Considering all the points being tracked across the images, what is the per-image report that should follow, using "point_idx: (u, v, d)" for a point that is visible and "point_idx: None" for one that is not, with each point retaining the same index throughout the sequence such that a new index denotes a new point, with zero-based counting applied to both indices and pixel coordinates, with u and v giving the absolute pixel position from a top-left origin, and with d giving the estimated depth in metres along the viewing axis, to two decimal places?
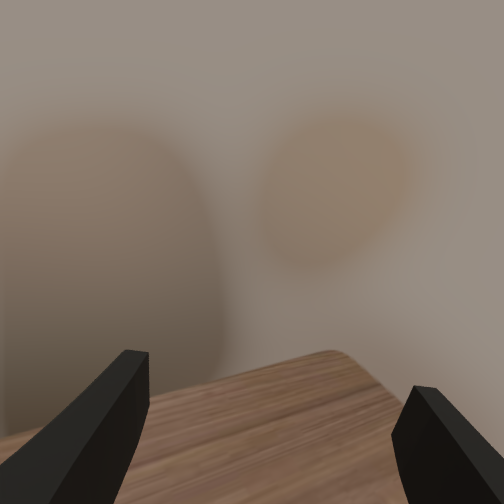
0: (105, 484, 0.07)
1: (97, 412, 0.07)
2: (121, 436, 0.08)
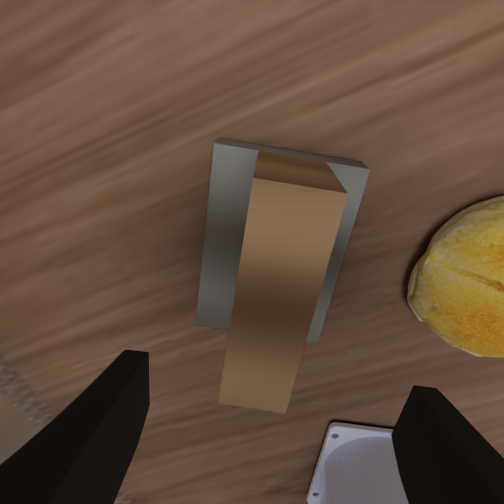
0: (105, 484, 0.07)
1: (97, 412, 0.07)
2: (121, 436, 0.08)
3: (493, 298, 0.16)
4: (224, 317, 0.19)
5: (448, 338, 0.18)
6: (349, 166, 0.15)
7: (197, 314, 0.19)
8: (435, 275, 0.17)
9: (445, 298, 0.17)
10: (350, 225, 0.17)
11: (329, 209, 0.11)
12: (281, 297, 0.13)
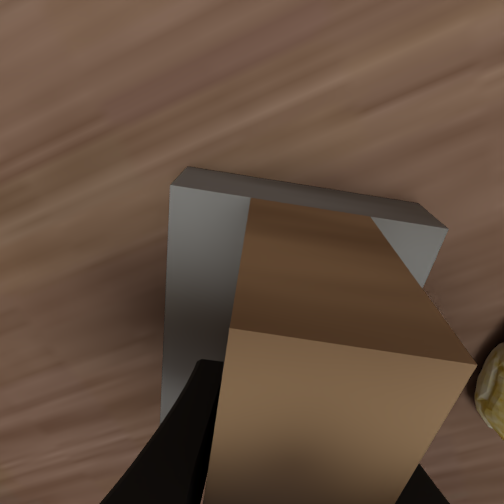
0: (197, 495, 0.07)
1: (196, 424, 0.07)
2: (208, 447, 0.08)
3: None
4: None
5: None
6: (411, 223, 0.09)
7: None
8: None
9: None
10: None
11: (423, 394, 0.04)
12: None
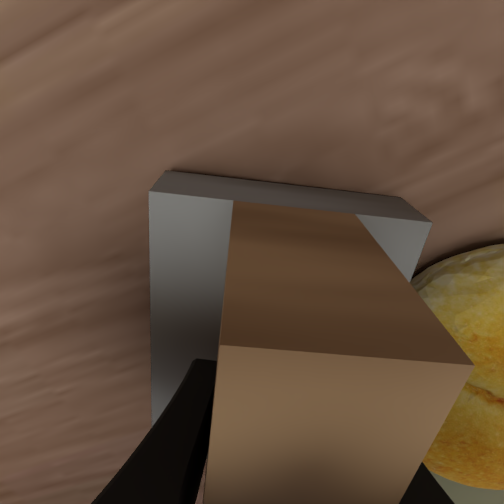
0: (192, 494, 0.07)
1: (191, 423, 0.07)
2: (203, 446, 0.08)
3: (480, 416, 0.10)
4: None
5: None
6: (396, 219, 0.09)
7: None
8: None
9: None
10: None
11: (422, 398, 0.04)
12: None
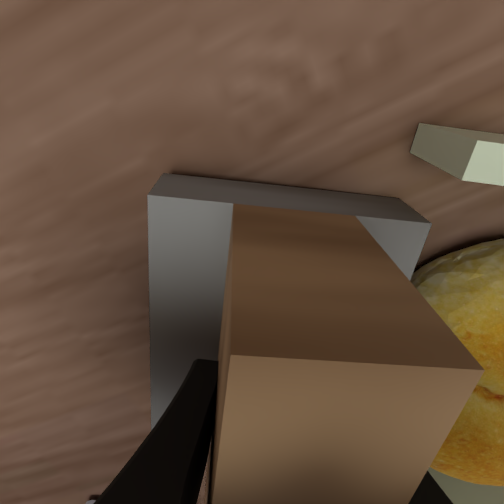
0: (193, 495, 0.07)
1: (192, 424, 0.07)
2: (204, 446, 0.08)
3: (478, 413, 0.10)
4: None
5: None
6: (395, 220, 0.09)
7: None
8: None
9: None
10: None
11: (431, 403, 0.04)
12: None
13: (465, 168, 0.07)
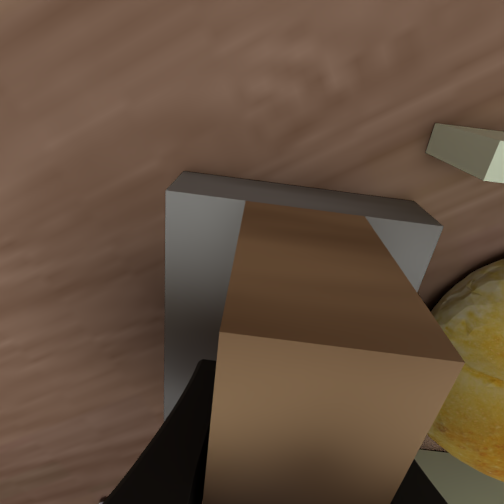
0: (199, 495, 0.07)
1: (198, 424, 0.07)
2: None
3: None
4: None
5: (467, 464, 0.12)
6: (406, 222, 0.09)
7: None
8: None
9: (456, 415, 0.11)
10: None
11: (414, 393, 0.04)
12: None
13: (487, 168, 0.07)
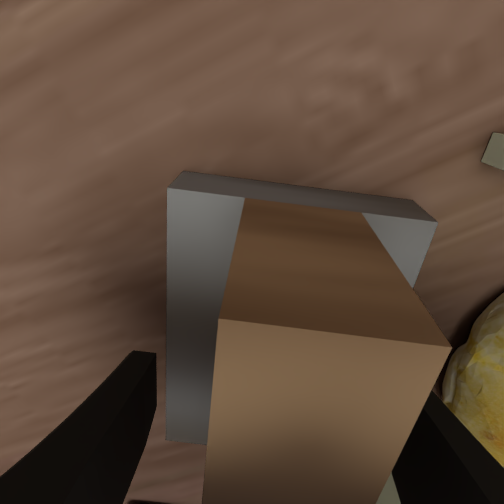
0: (115, 485, 0.07)
1: (107, 413, 0.07)
2: (130, 437, 0.08)
3: None
4: (206, 431, 0.13)
5: None
6: (401, 218, 0.09)
7: (167, 427, 0.13)
8: (487, 387, 0.11)
9: None
10: None
11: (404, 377, 0.05)
12: None
13: None
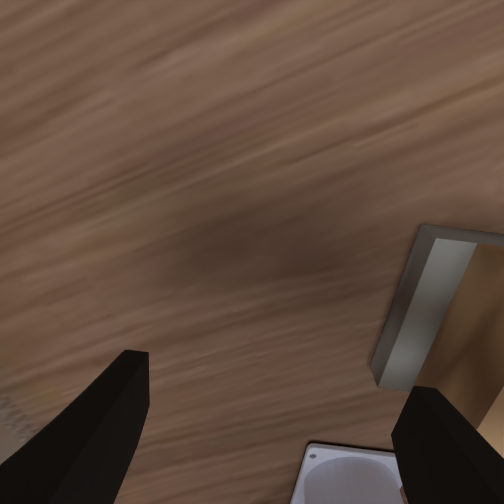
0: (105, 484, 0.07)
1: (97, 412, 0.07)
2: (121, 436, 0.08)
3: None
4: (407, 381, 0.21)
5: None
6: None
7: (382, 379, 0.21)
8: None
9: None
10: None
11: None
12: None
13: None
